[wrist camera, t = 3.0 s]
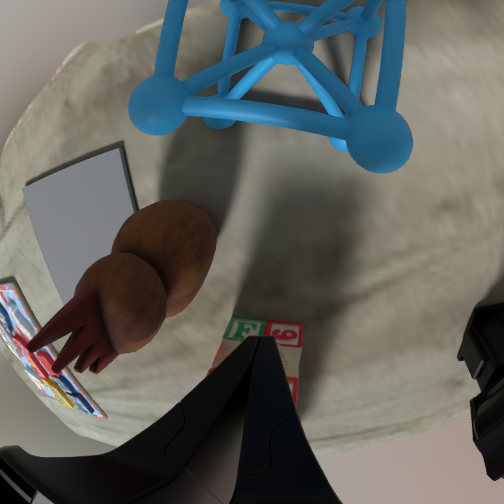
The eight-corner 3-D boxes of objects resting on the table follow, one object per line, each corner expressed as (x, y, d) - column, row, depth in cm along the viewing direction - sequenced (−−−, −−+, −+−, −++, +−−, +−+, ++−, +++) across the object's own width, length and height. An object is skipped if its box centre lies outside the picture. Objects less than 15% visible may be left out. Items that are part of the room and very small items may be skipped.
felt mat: (122, 147, 19) (118, 147, 18) (170, 313, 25) (167, 316, 24) (25, 187, 22) (22, 188, 22) (68, 306, 28) (66, 309, 28)
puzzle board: (-20, 285, 36) (-28, 291, 34) (18, 277, 30) (7, 286, 28) (50, 393, 48) (44, 400, 45) (110, 415, 42) (104, 425, 39)
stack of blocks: (283, 437, 32) (269, 516, 21) (238, 431, 33) (216, 507, 22) (304, 321, 22) (291, 460, 12) (229, 313, 24) (177, 440, 13)
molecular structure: (378, 19, 12) (432, -54, 3) (358, 154, 16) (413, 188, 7) (228, -3, 13) (164, -79, 4) (206, 127, 17) (112, 136, 8)
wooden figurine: (166, 177, 19) (-17, 283, 6) (238, 207, 19) (109, 384, 6) (147, 253, 22) (22, 384, 9) (210, 283, 22) (116, 450, 9)
